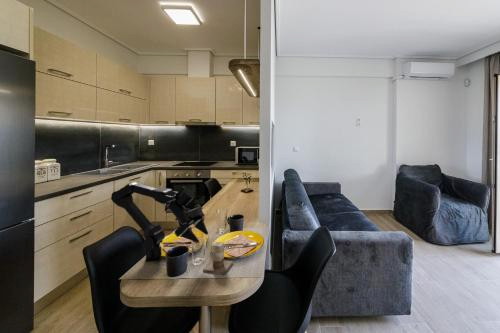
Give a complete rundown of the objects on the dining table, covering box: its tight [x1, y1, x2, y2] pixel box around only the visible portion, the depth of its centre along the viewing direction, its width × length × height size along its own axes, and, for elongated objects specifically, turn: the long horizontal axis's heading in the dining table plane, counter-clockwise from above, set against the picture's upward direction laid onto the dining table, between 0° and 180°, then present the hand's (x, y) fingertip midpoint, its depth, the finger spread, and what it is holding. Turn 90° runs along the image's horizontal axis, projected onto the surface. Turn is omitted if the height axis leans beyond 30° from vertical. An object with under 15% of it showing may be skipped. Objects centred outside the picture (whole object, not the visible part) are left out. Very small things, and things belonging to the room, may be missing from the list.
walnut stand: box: [202, 258, 233, 276], centre depth 120 cm, size 10×10×4 cm
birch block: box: [211, 241, 225, 262], centre depth 119 cm, size 4×4×7 cm
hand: (203, 237), depth 120 cm, fingers open, 9 cm apart
